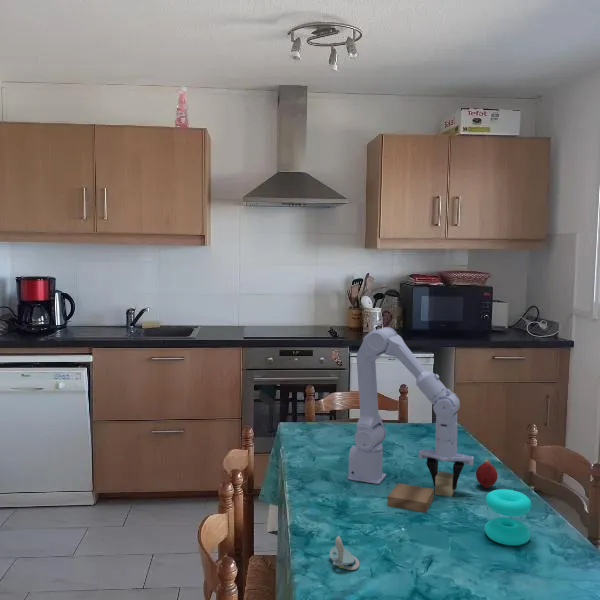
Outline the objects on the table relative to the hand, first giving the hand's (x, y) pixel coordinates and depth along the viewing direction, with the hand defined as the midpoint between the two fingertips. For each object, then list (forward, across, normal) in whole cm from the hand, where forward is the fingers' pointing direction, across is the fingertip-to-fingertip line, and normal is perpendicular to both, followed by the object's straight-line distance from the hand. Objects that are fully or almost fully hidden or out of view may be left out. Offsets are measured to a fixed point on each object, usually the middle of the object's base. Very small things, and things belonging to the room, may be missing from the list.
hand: (445, 486), depth 169 cm
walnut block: (+2, -7, -10) cm, 12 cm away
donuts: (+2, +18, -21) cm, 28 cm away
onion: (+2, +10, +8) cm, 13 cm away
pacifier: (+2, -12, -48) cm, 49 cm away
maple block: (+2, 0, 0) cm, 2 cm away
